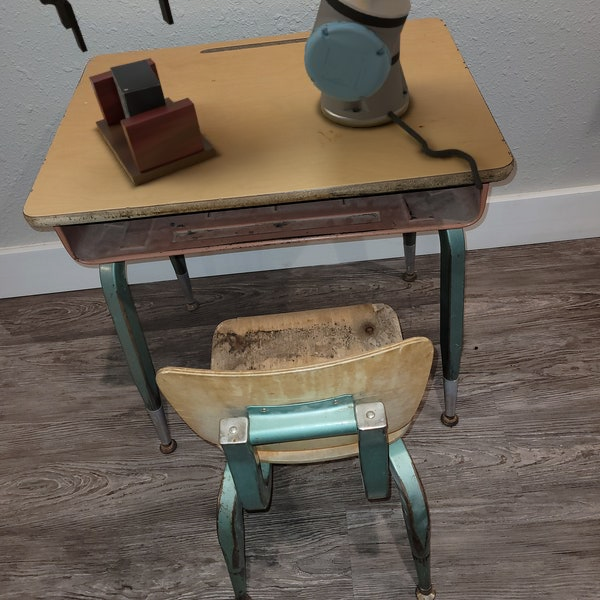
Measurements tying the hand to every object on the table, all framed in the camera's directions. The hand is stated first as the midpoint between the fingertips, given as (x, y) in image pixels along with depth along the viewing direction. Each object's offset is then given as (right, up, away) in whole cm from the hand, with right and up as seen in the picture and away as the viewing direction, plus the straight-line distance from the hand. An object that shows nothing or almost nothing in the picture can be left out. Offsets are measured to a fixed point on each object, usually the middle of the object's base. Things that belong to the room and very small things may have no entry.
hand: (126, 35), depth 89 cm
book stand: (+1, -13, +13) cm, 18 cm away
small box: (+1, -12, +12) cm, 17 cm away
